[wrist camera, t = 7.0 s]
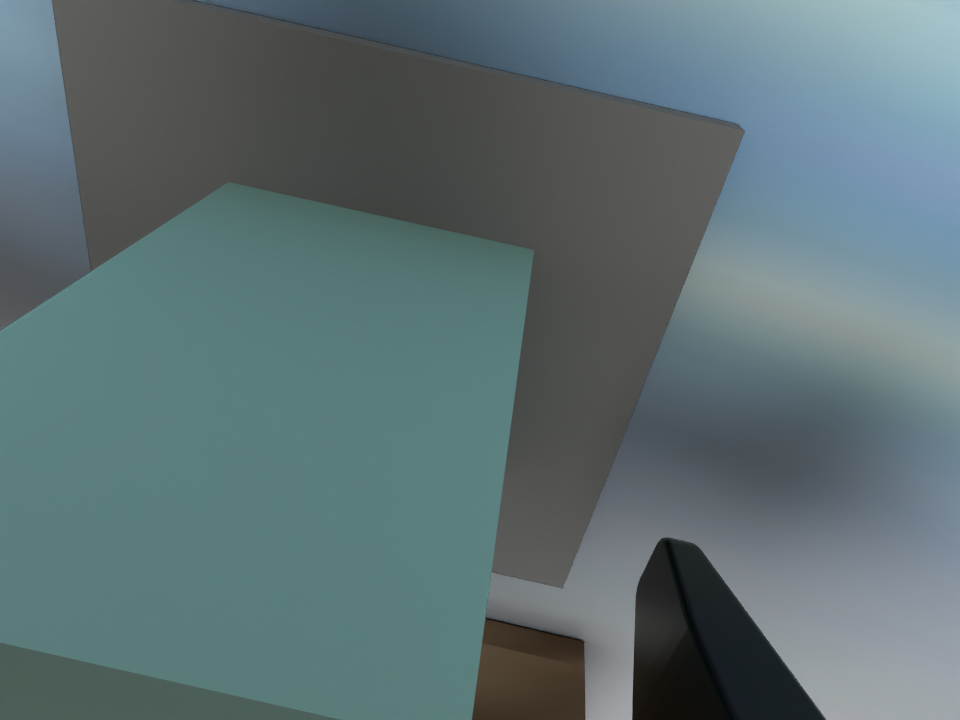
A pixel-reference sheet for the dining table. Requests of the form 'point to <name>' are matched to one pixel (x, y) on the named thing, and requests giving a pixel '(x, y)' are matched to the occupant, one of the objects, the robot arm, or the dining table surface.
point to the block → (258, 469)
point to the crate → (529, 675)
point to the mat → (419, 199)
